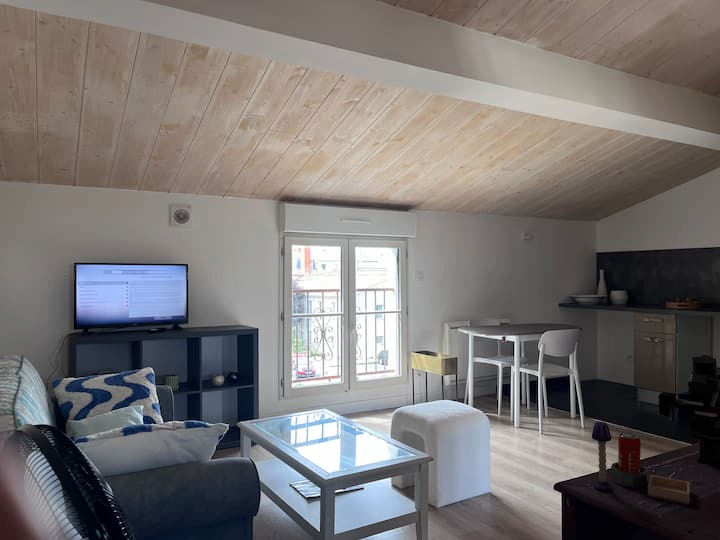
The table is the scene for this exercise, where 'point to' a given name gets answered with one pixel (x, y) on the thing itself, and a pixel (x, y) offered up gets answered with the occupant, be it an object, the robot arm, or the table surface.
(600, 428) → the toy lamp
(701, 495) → the table surface
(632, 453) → the beverage can
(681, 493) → the terracotta tray
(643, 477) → the steel collar
